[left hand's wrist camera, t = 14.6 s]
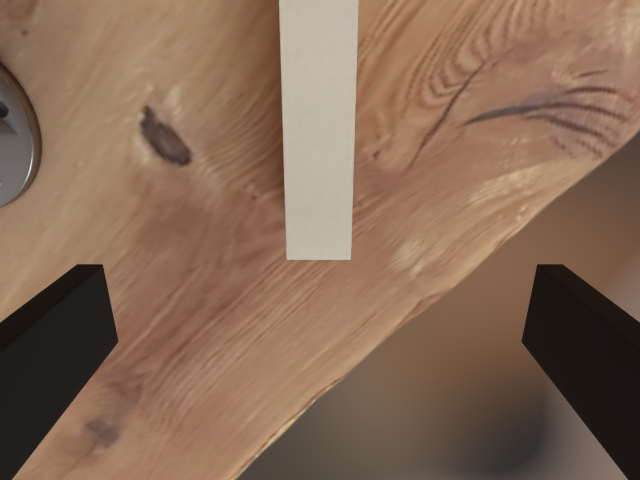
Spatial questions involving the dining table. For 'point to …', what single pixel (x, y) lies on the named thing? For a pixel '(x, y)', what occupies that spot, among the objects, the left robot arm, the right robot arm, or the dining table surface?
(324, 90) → the bar
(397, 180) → the dining table surface
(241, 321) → the dining table surface
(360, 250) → the dining table surface
